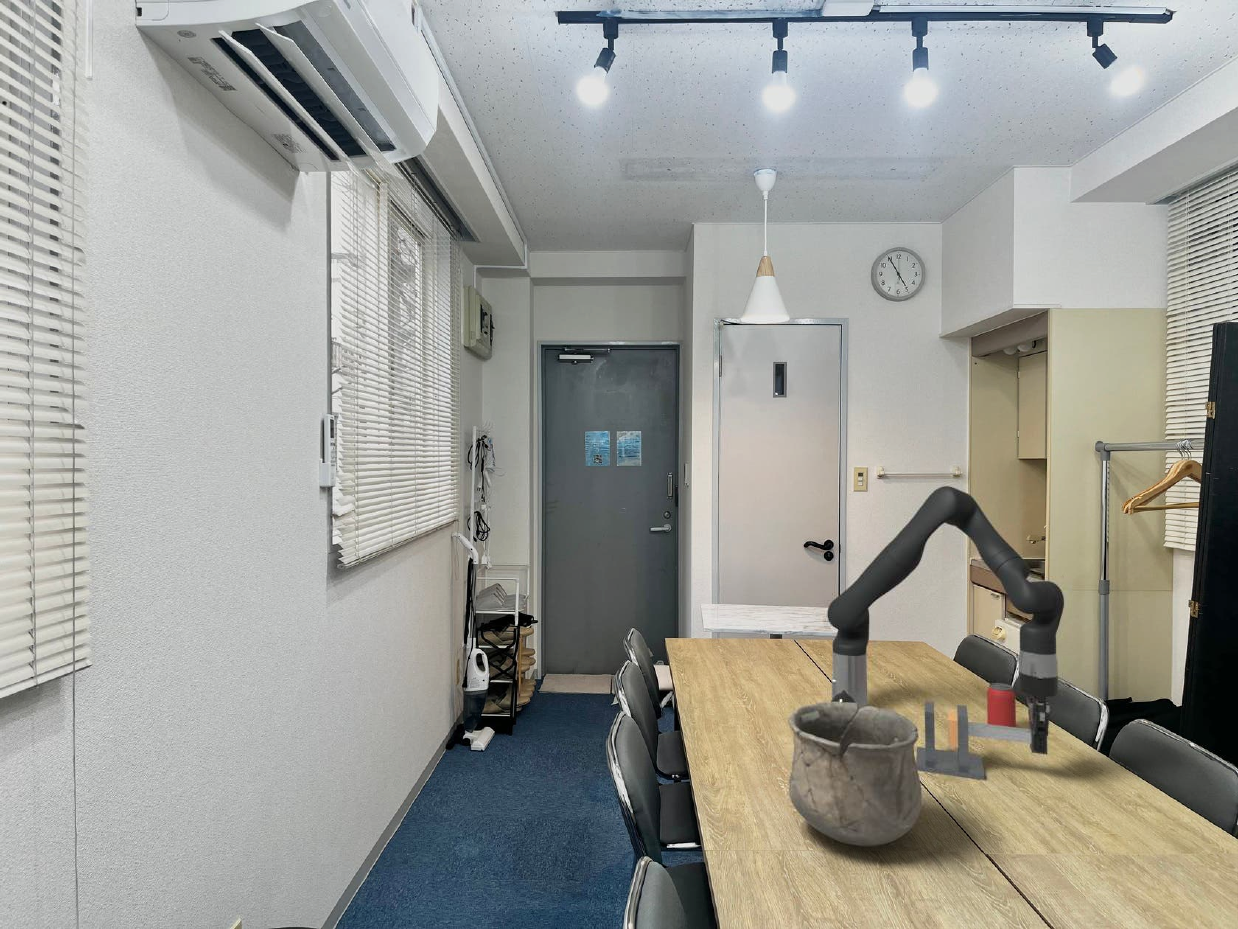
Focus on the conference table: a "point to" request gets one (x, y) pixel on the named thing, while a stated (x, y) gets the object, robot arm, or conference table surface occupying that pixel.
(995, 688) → the beer can
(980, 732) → the shaft
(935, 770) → the stand
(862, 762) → the pot
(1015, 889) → the conference table surface
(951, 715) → the spacer
